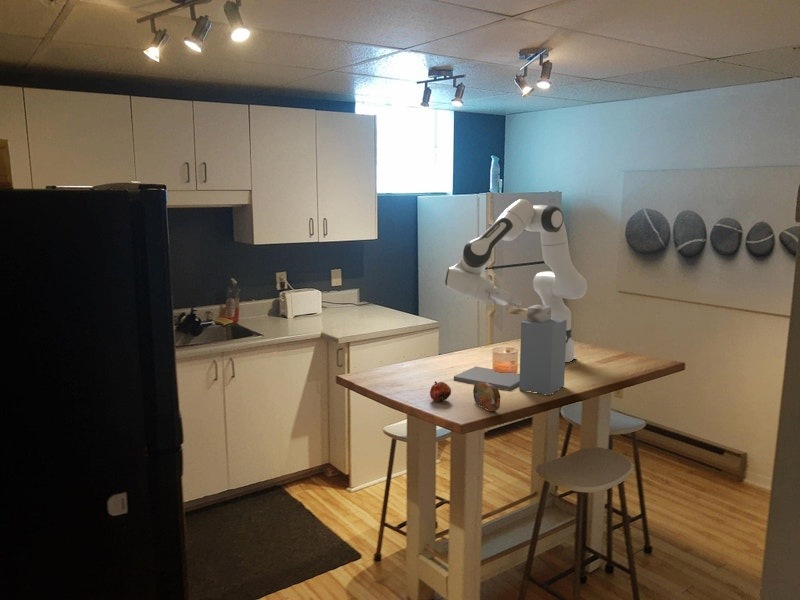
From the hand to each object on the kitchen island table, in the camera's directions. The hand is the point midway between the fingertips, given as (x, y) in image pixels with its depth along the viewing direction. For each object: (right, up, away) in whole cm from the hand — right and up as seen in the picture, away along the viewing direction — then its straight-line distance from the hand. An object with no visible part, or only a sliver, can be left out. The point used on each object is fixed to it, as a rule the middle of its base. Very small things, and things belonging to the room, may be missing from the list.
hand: (520, 304), depth 234 cm
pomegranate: (-31, -34, -14) cm, 48 cm away
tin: (-15, -35, -20) cm, 43 cm away
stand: (+8, -32, +1) cm, 33 cm away
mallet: (+2, -5, +1) cm, 6 cm away
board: (-9, -30, +13) cm, 34 cm away
